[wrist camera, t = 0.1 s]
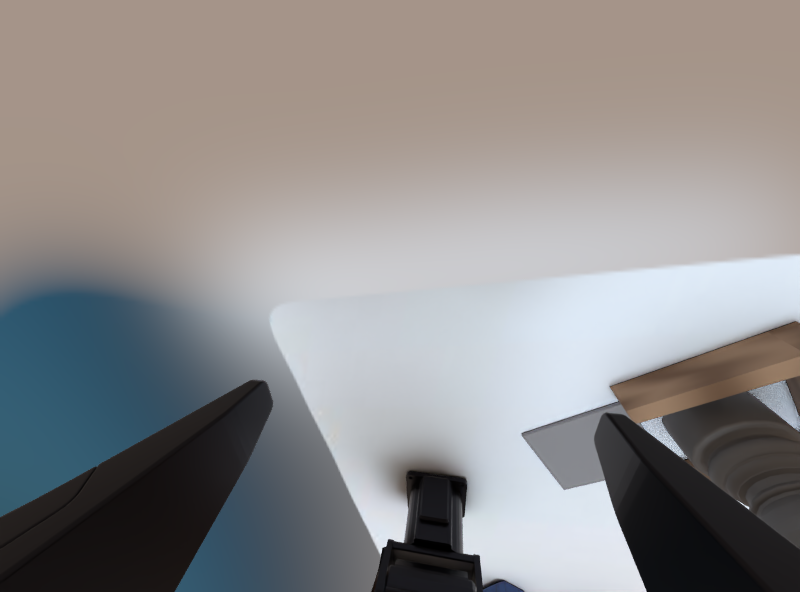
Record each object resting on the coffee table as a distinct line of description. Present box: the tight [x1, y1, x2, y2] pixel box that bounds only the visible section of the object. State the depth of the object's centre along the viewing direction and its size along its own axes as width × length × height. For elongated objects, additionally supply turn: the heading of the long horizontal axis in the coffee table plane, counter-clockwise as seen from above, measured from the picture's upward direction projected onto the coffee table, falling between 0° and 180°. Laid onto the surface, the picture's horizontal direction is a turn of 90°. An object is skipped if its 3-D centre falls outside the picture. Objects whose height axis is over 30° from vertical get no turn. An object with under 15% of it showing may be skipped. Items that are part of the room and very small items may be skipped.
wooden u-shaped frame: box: [610, 322, 800, 480], centre depth 22 cm, size 12×12×2 cm
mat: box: [522, 402, 644, 490], centre depth 26 cm, size 9×8×1 cm
